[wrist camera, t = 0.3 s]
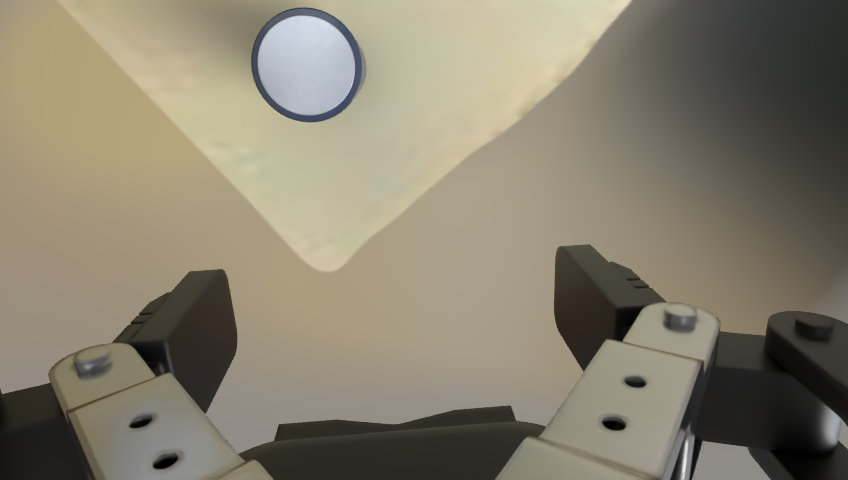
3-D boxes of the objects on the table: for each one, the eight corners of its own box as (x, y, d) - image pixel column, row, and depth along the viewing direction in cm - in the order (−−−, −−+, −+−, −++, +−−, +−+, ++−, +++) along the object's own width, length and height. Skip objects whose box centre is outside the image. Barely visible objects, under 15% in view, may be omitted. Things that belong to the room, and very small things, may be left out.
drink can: (284, 30, 38) (240, 11, 26) (361, 24, 38) (354, 2, 26) (296, 109, 40) (260, 127, 27) (370, 102, 40) (368, 117, 28)
